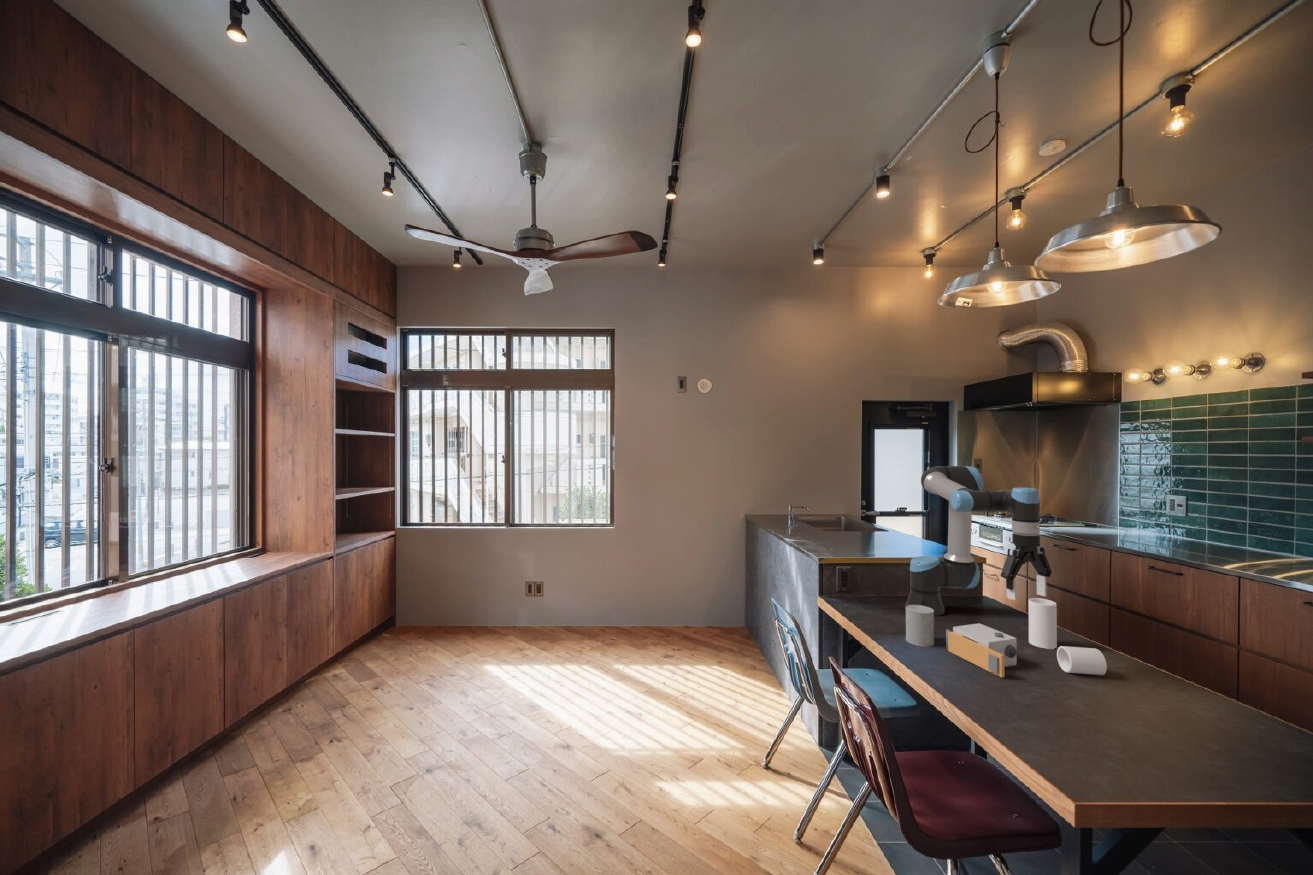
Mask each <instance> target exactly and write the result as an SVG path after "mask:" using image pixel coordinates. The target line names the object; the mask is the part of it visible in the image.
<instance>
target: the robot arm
mask: <svg viewBox="0 0 1313 875" xmlns="http://www.w3.org/2000/svg"><path fill="white" fill-rule="evenodd" d="M920 483H921V487H922V488H923V489H924V490H925V491H926V492H928V493H930V494H932V495H938V496H940V497H942V498H944V499H945V500H946V501H948V528H947V530H948V532H947V533H948V534H947V551H946V553H945V554H943V559H942V560H940V558H939V557H937V556H934V555H933V556H932V555H921V556H920V555H919V556H916V557H913V558H911V560H910V563H909V565H910V566H909V574H910V575H909V581H910V582H909V588H910V590H909V594H908V597H907V600H906V601H905V607H906V606H907V605H922V606H926V607H929V608H931V609H933V610H934V617H935V616H936V617H937V616H942V615H944V614H945V612H946V611H945V605H944V604H943V600H942V596H941V594H940V593H941V591H940V590H941V588H946V589H947V588H949V589H962V590H965V589H973V588H975V587H976V586H977V585H978V584H979V582H980V576H981V571H980V566H979V564H978V563H977V562H976V561H975V558H974V557H972V555H971V549H972V548H971V546H972V543H971V542H972V521H973V519H972V518H973V513H975V512H979V513H982V512H983V513H984V512H986V513H1010V514H1011V530H1012V532H1013V533H1012V535H1011V536H1012V538H1011V539H1012V545H1014V547H1015V549H1013V548H1008V549H1007V555H1006V557H1005V561H1004V563H1003V566H1002V569H1001V573H1000V577H1001V578H1003V579H1005V588H1006V599H1009V600H1011V601H1017V600H1018V599H1017V597H1018V596H1017V594H1018V593H1017V589H1018V588H1017V580H1016V577H1017V575H1018V574H1019V572H1020V570H1021V568H1022V566H1023V565H1025V564H1026V563H1029V562H1030V563H1031V565H1032V566H1033V568H1034V569H1035V571H1036V572H1037V574H1036V595H1039V596H1043V597H1047V595H1048V594H1047V593H1048V592H1047V585H1048V583H1047V582H1048V581H1047V580H1048V579H1047V577H1048V578H1050V577H1051V575H1052V574H1053V571H1052V568H1051V566H1050V563H1049V561H1048V558H1047V556H1046V551H1045V550H1046V549H1045V547H1042V546H1041V536H1040V534H1041V525H1040V524H1041V523H1040V522H1041V498H1040V491H1039V490H1038V488H1035V487H1022V486H1020V487H1013V488H1012V490H1008V489H1007V490H1006V489H1000V490H983V489H984V480H983V476H982V474H981V472H980V471H979V469H978V468H976V467H974V466H967V465H947V466H946V465H945V466H944V465H938V466H932V467H930V468H927V469H926V470H925V471H924V472H923V473H922V474H921V477H920Z"/></svg>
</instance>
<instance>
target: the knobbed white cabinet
mask: <svg viewBox="0 0 1313 875" xmlns="http://www.w3.org/2000/svg"><path fill="white" fill-rule="evenodd" d="M952 632H954V633H956V634H958V635H960V636H963V637H965V638H967V639H969V640H971V641H974V642H976V643H978V644H980V645H983V646H985V647H987V648H989V649H991V650H994V651H996V652H998V653H1000V654H1003V655H1004V668H1005V667H1012V666H1017V637H1014V636H1012V635H1009V634H1007V633H1004V632H1002V631H1000V630H997V629H994V628H993V627H989V626H987V625H984V624H982V623H979V622H978V623H972V624H965V625H964V624H963V625H957V626H953V627H952Z"/></svg>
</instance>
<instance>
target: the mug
mask: <svg viewBox="0 0 1313 875" xmlns="http://www.w3.org/2000/svg"><path fill="white" fill-rule="evenodd" d="M1056 659H1057V662H1058V665H1059V667H1060V668H1061V670H1062V671H1064V673H1068V674H1069V673H1070V674H1082V675H1094V676H1095V675H1096V676H1104V675H1105V674H1106V672H1107V668H1108V666H1107V665H1108V664H1107V661H1106V657H1105V656H1104V654H1103V653H1102V652H1101V650H1099V649H1097V648H1095V647H1093V648H1092V647H1081V646H1066V645H1063V646H1062V645H1060V646H1059V647H1057V650H1056Z"/></svg>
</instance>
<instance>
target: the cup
mask: <svg viewBox="0 0 1313 875" xmlns="http://www.w3.org/2000/svg"><path fill="white" fill-rule="evenodd" d="M1057 605H1058V604H1057V603H1056V602H1055V601H1054V600H1050V599H1047V598H1040V597H1030V598H1028V643H1029V644H1030V645H1031V646H1035V647H1037V648H1040V649H1044V648H1045V649H1047V650H1055V648H1056V649H1058V640H1057V639H1058V638H1057V637H1058V633H1057V632H1058V627H1057V626H1058V624H1057V622H1058V620H1057V618H1058V615H1057V614H1058V613H1057V612H1058V611H1057V610H1058V609H1057V608H1058V607H1057Z"/></svg>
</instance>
